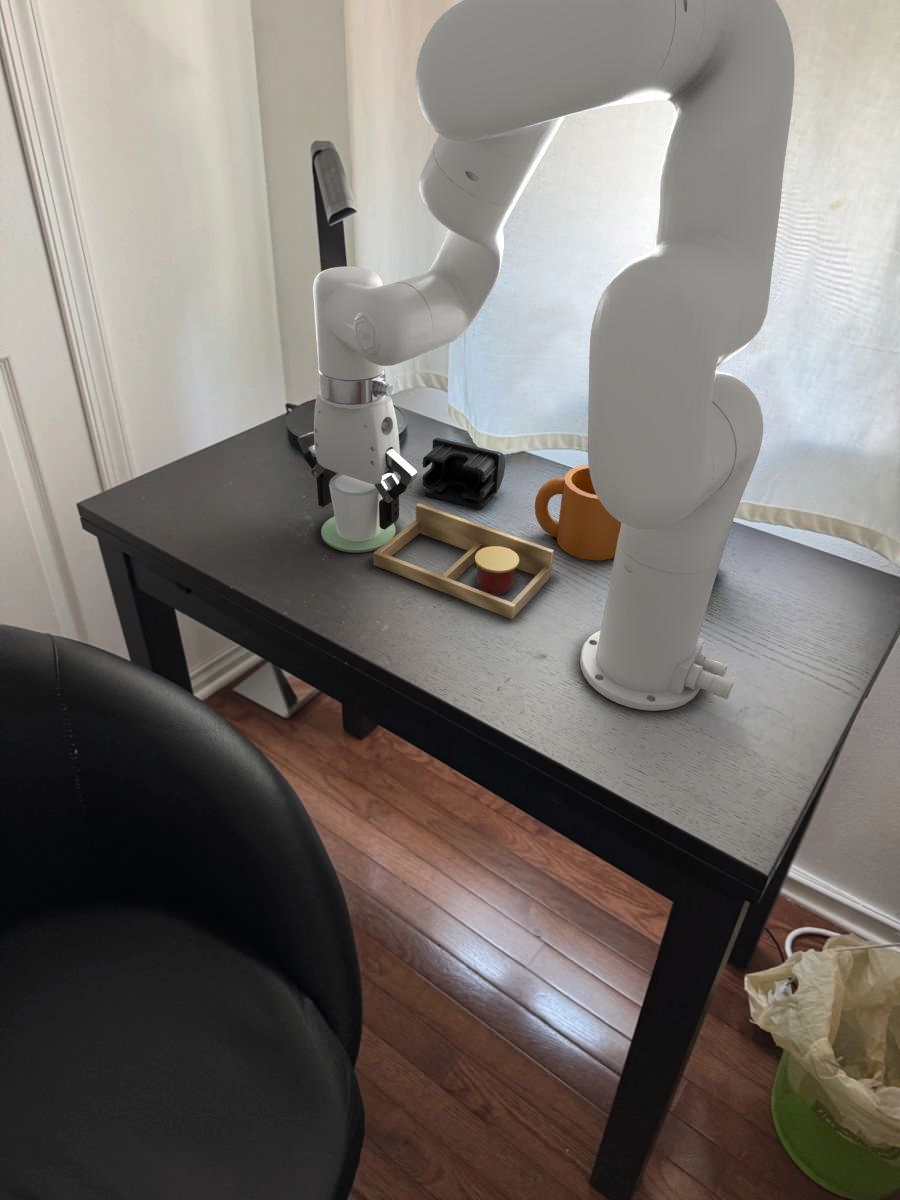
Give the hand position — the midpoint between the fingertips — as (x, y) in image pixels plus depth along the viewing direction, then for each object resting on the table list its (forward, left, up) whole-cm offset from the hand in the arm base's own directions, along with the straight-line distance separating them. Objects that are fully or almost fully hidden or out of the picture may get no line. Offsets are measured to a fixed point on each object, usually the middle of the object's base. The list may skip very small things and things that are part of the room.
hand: (358, 513), depth 101 cm
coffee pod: (-20, 0, -3) cm, 20 cm away
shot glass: (0, 0, -3) cm, 3 cm away
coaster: (0, 0, -3) cm, 3 cm away
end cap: (-5, -17, -3) cm, 18 cm away
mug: (-24, -15, -3) cm, 29 cm away
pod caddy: (-16, 0, -3) cm, 16 cm away
